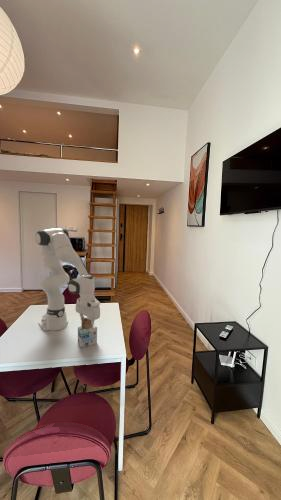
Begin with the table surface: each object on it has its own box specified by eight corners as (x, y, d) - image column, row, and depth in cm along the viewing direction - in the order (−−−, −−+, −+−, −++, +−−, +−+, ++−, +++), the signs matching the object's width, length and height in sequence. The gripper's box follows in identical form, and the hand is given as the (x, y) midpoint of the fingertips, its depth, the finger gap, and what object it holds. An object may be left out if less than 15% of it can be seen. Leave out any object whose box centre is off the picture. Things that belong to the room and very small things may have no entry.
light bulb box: (81, 348, 133) (81, 331, 132) (77, 343, 138) (77, 326, 137) (97, 343, 139) (97, 326, 138) (93, 338, 144) (93, 323, 143)
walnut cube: (81, 326, 137) (81, 319, 137) (88, 324, 141) (88, 316, 141) (86, 329, 134) (86, 321, 134) (92, 326, 138) (93, 319, 137)
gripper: (73, 298, 140) (73, 319, 141) (93, 305, 127) (93, 328, 129) (81, 296, 145) (81, 316, 146) (102, 303, 132) (101, 325, 134)
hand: (87, 322), depth 137 cm, fingers open, 8 cm apart
